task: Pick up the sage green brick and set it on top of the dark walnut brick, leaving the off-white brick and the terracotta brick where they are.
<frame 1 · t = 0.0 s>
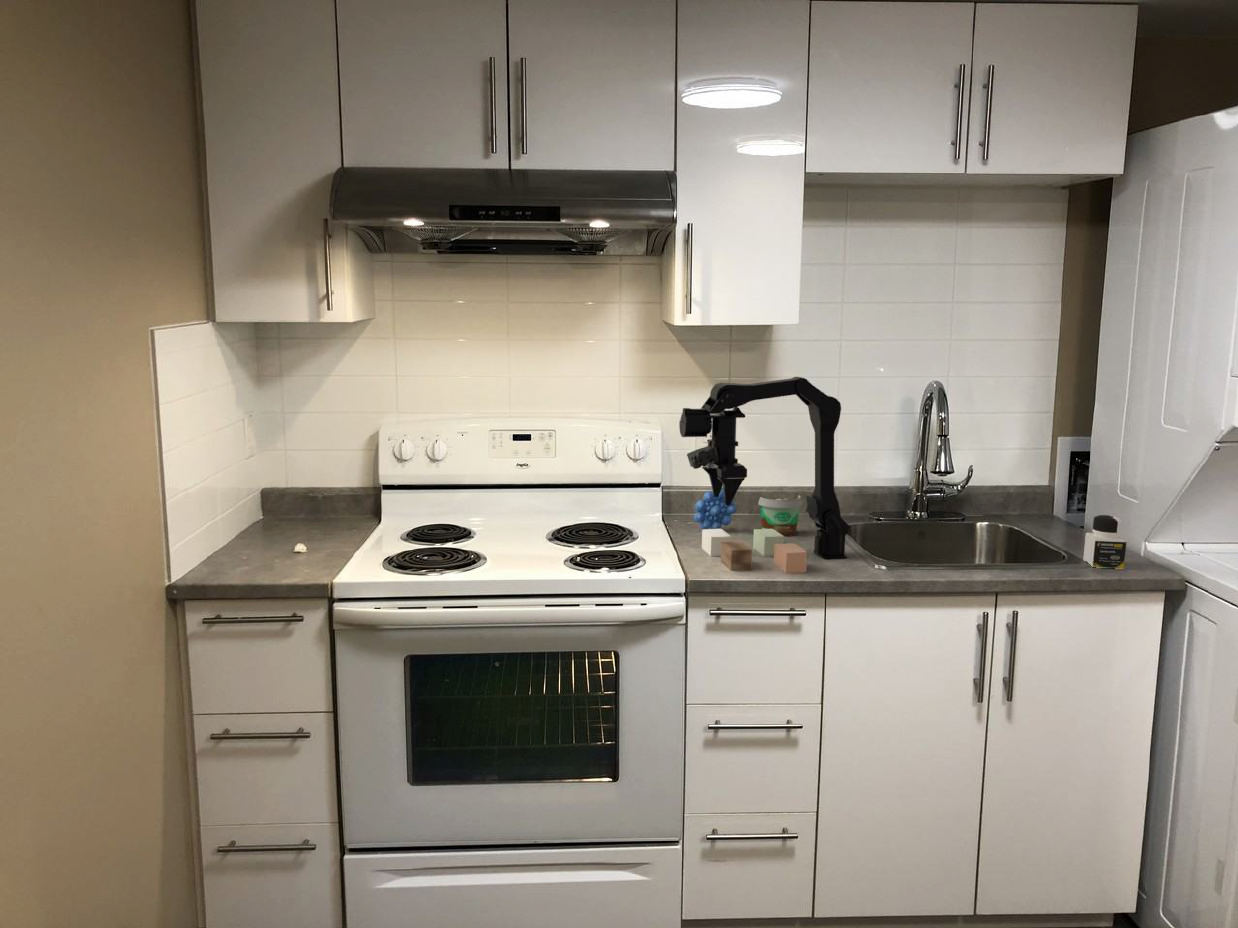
hand: (721, 500, 235), 15 cm above the countertop, tool pointing down, fingers open, 9 cm apart
terracotta brick: (789, 568, 232), on the countertop
sage brick: (767, 552, 246), on the countertop
off-white brick: (715, 552, 246), on the countertop
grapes: (714, 531, 267), on the countertop
walnut brick: (735, 566, 233), on the countertop
food container: (782, 535, 264), on the countertop
medicine bottle: (1103, 565, 237), on the countertop
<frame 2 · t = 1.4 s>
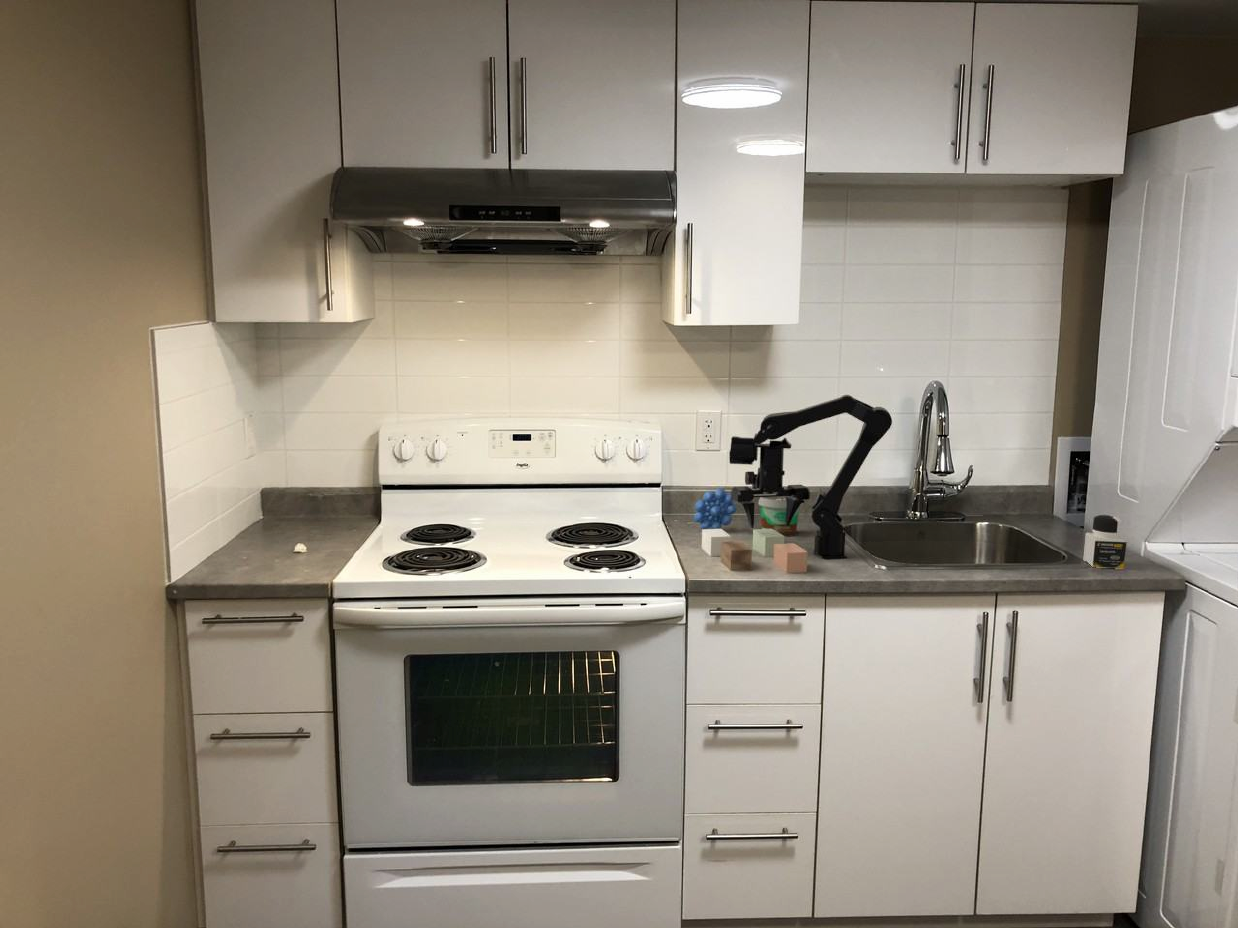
hand: (769, 526, 245), 6 cm above the countertop, tool pointing down, fingers open, 9 cm apart
nothing on the countertop moved.
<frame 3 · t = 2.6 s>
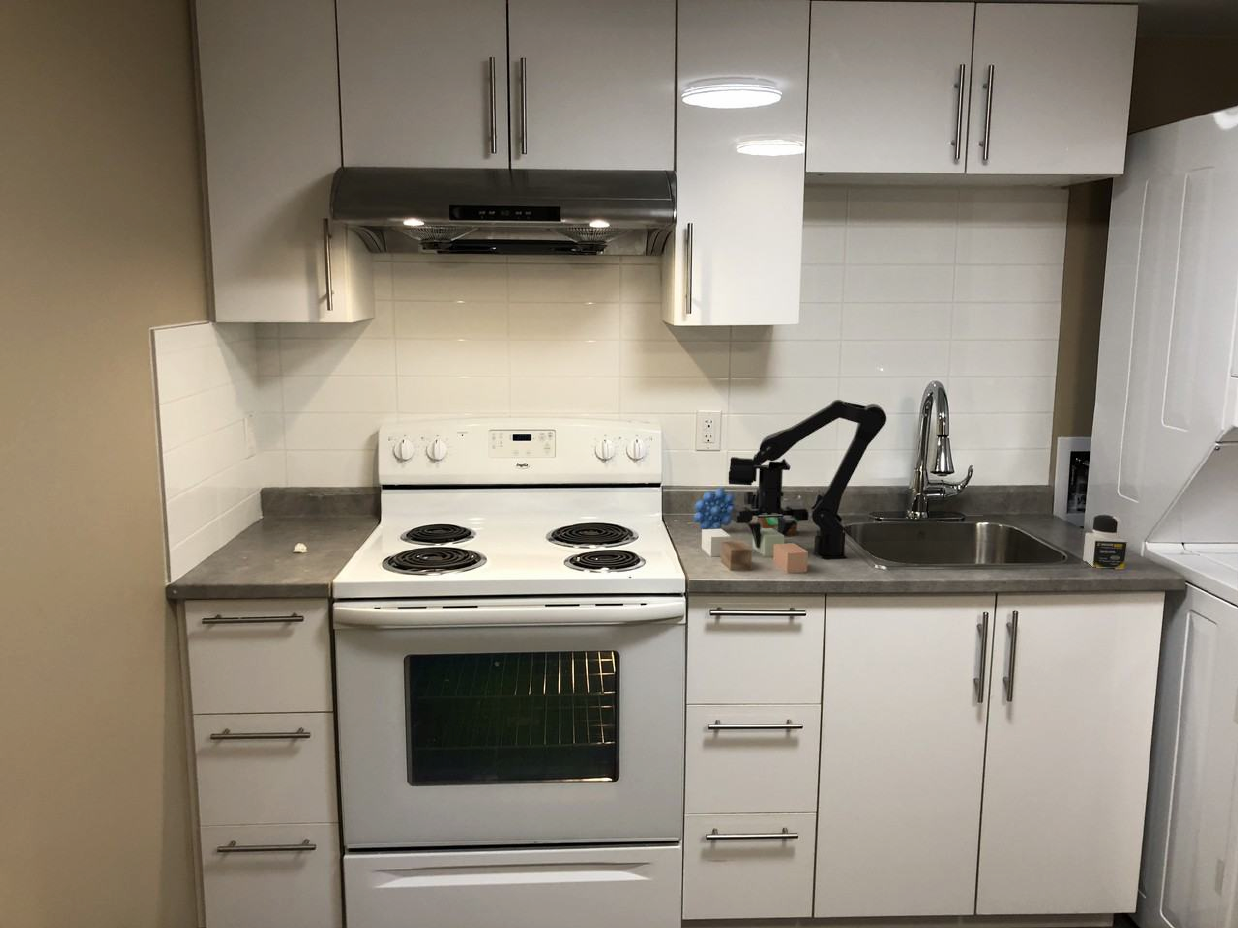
hand: (768, 547, 246), 1 cm above the countertop, tool pointing down, fingers closed on sage brick, 5 cm apart
sage brick: (767, 551, 246), on the countertop, touching gripper
everything else where it was.
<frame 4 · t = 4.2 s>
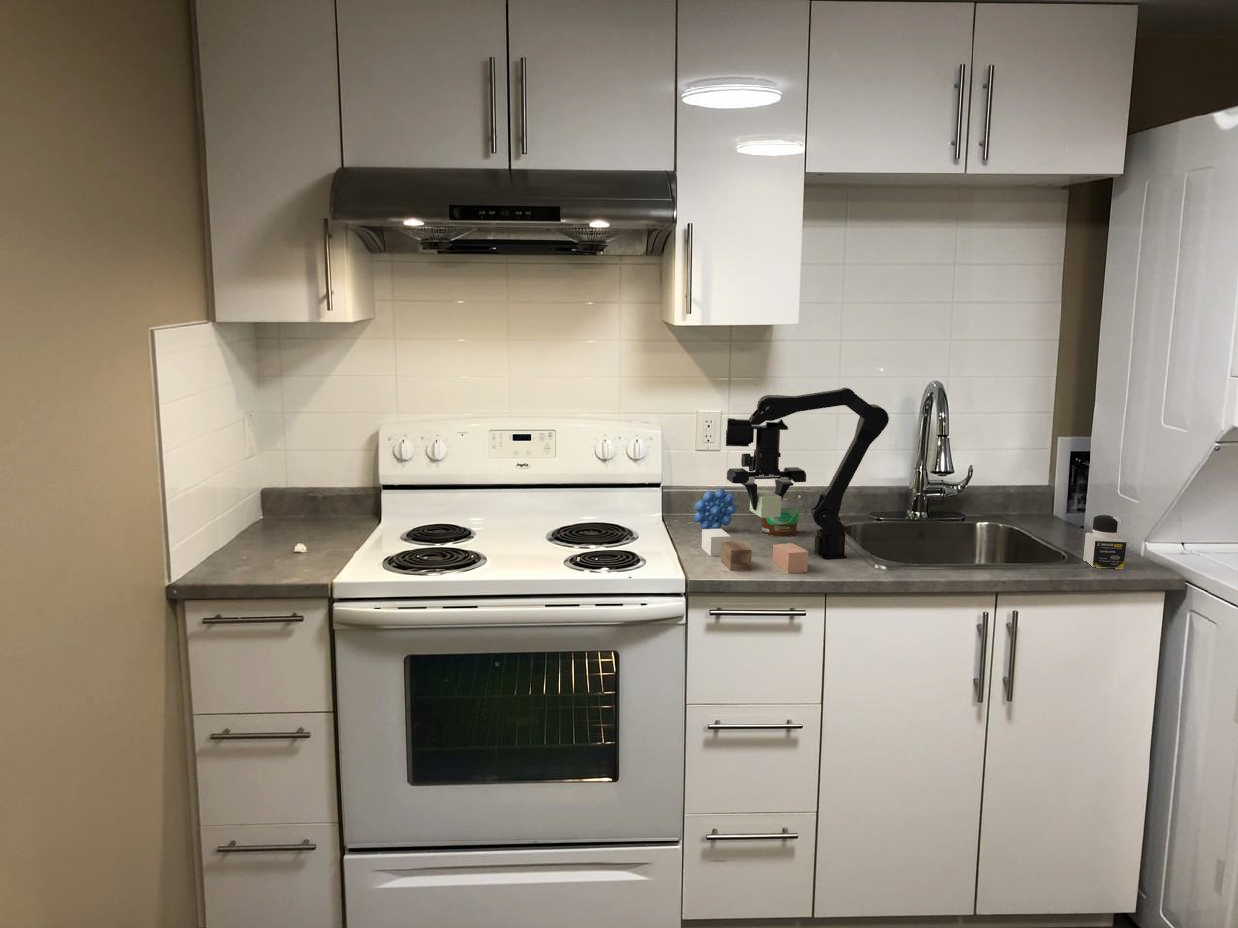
hand: (765, 509, 243), 11 cm above the countertop, tool pointing down, fingers closed on sage brick, 5 cm apart
sage brick: (764, 513, 243), point 10 cm above the countertop, touching gripper
everything else where it was.
when the fingers open (7 cm above the countertop, at t = 6.0 s): sage brick drops 2 cm, point 5 cm above the countertop.
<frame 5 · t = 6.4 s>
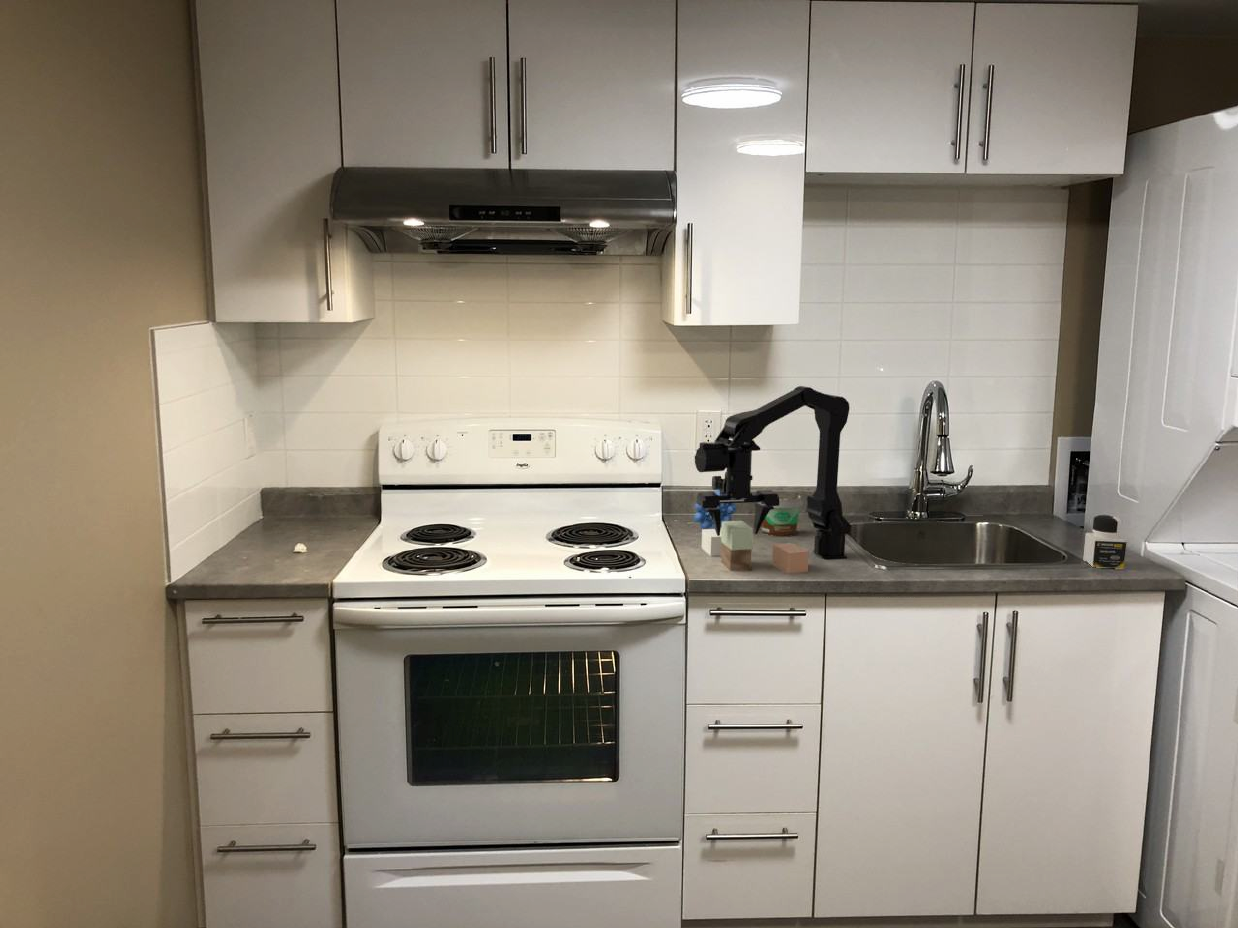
hand: (736, 534, 232), 7 cm above the countertop, tool pointing down, fingers open, 9 cm apart
sage brick: (736, 545, 233), point 5 cm above the countertop
everything else where it was.
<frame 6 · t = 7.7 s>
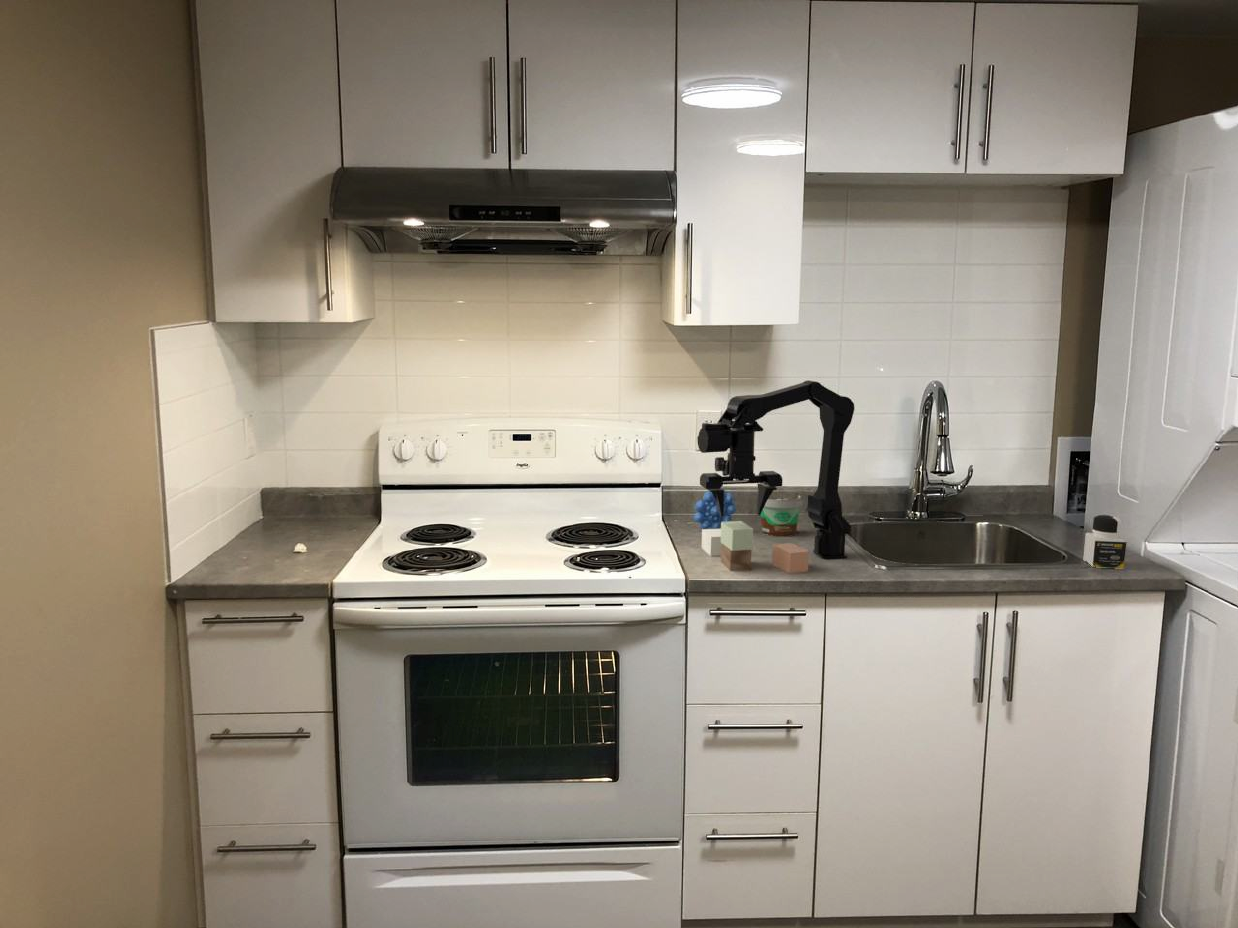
hand: (740, 515, 233), 12 cm above the countertop, tool pointing down, fingers open, 9 cm apart
sage brick: (736, 545, 232), point 5 cm above the countertop, touching walnut brick
walnut brick: (735, 566, 233), on the countertop, touching sage brick
everything else where it was.
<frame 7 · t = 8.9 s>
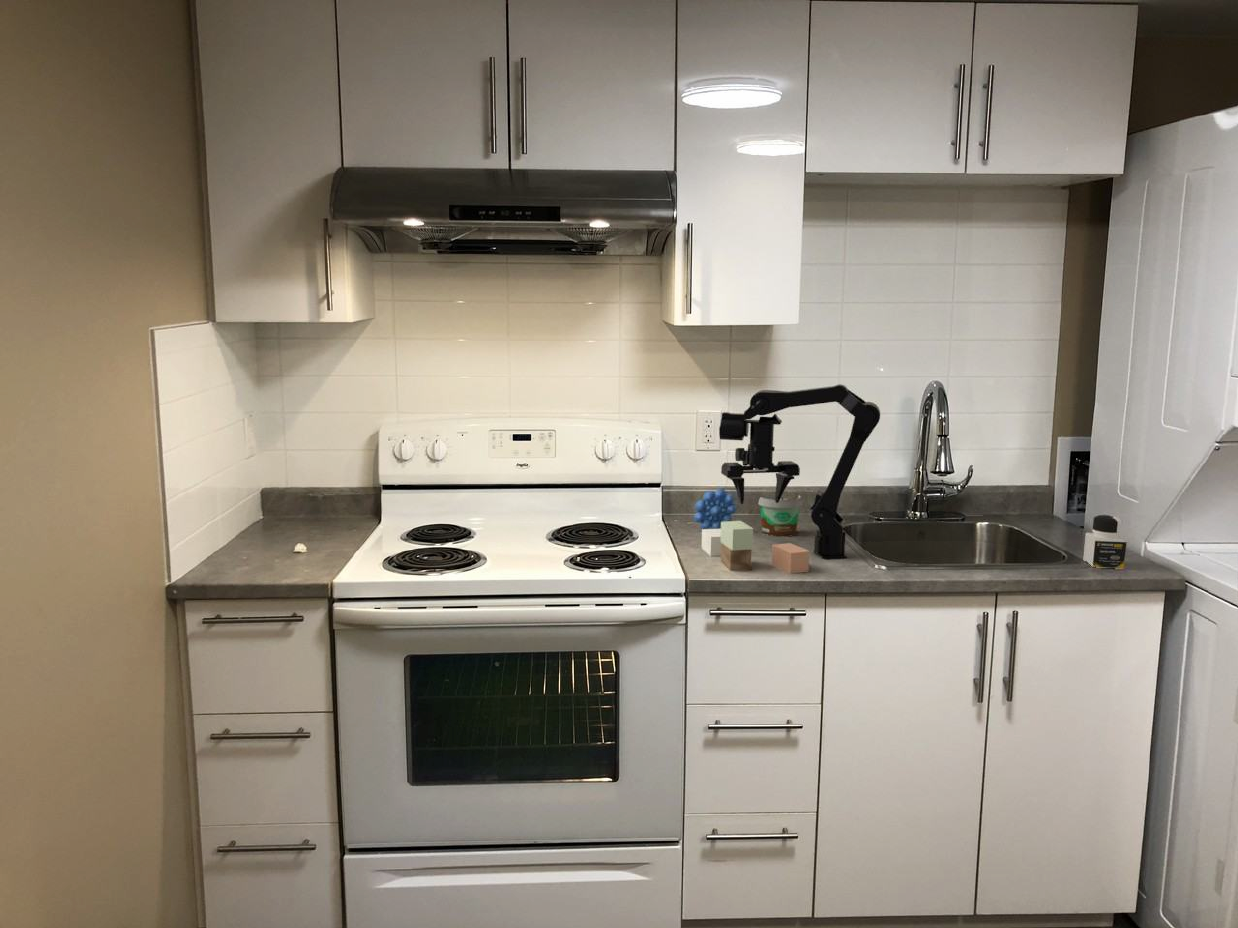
hand: (759, 503, 246), 12 cm above the countertop, tool pointing down, fingers open, 9 cm apart
nothing on the countertop moved.
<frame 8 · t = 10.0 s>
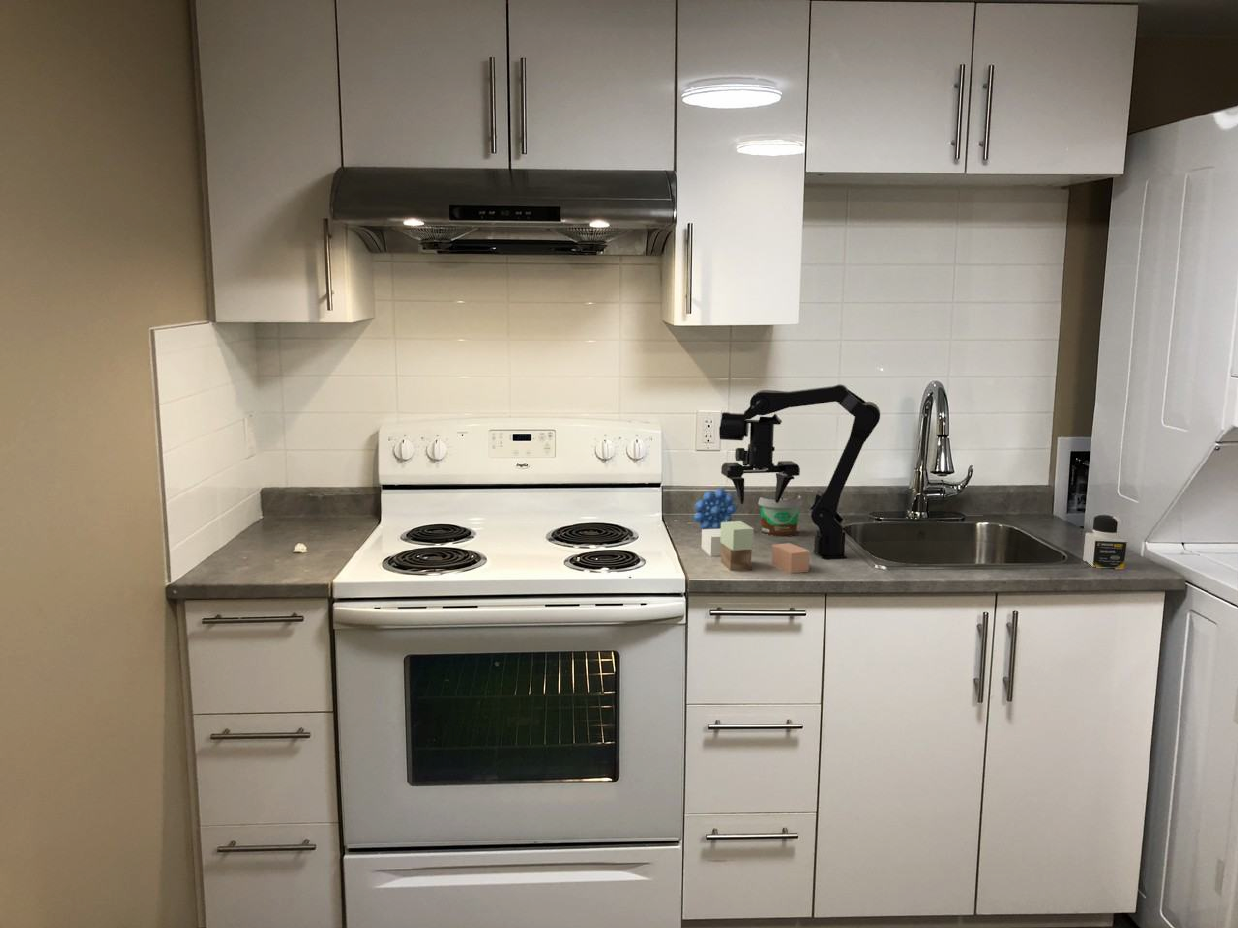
hand: (759, 503, 246), 12 cm above the countertop, tool pointing down, fingers open, 9 cm apart
nothing on the countertop moved.
at the end: sage brick 0.2 cm off-centre on the walnut brick, point 5.0 cm above the walnut brick's base; off-white brick moved 0.2 cm from its start; terracotta brick moved 0.2 cm from its start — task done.
